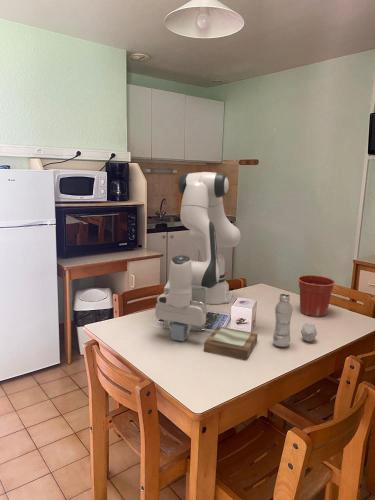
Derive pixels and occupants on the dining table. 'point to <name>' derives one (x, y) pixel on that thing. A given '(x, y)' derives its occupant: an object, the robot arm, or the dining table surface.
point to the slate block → (178, 331)
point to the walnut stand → (231, 342)
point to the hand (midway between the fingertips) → (179, 332)
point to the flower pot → (315, 294)
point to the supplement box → (197, 295)
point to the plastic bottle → (282, 321)
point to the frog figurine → (308, 332)
